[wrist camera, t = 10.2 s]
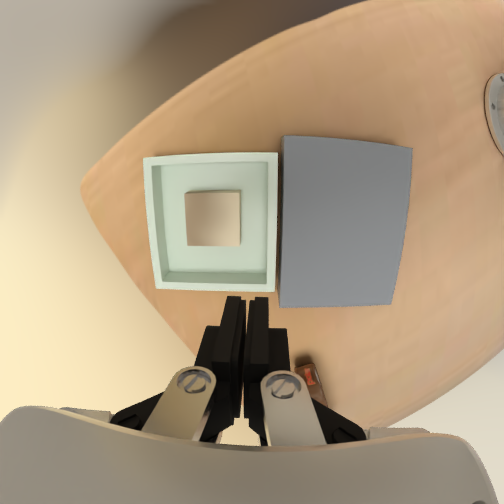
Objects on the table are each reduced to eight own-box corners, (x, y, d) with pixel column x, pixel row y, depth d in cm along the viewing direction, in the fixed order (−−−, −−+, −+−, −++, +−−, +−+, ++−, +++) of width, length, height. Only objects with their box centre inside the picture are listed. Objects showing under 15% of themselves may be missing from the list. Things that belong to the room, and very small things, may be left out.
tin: (290, 355, 34) (296, 405, 26) (314, 348, 34) (325, 397, 26) (313, 417, 39) (319, 459, 31) (332, 412, 38) (341, 454, 30)
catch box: (276, 152, 26) (277, 152, 23) (273, 278, 30) (274, 291, 27) (154, 156, 26) (143, 157, 23) (164, 276, 31) (156, 288, 28)
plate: (396, 147, 25) (412, 148, 21) (379, 289, 30) (391, 304, 27) (281, 137, 25) (284, 135, 22) (277, 290, 31) (279, 307, 27)
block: (184, 193, 25) (189, 190, 27) (187, 245, 27) (192, 239, 28) (239, 192, 25) (240, 189, 27) (239, 246, 26) (241, 239, 28)
